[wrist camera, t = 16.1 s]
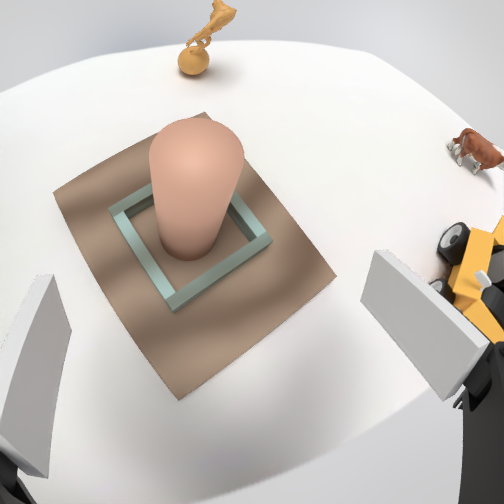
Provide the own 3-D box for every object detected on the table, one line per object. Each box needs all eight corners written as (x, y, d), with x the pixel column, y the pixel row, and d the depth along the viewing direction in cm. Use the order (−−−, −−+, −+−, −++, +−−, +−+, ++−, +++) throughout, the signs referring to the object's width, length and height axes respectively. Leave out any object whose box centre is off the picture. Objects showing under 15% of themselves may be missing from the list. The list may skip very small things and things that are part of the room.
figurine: (196, 52, 36) (209, -18, 25) (233, 67, 36) (254, -5, 25) (160, 83, 33) (164, 3, 22) (201, 100, 33) (215, 17, 22)
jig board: (57, 199, 26) (45, 182, 23) (203, 120, 32) (206, 99, 29) (178, 397, 23) (178, 405, 20) (329, 279, 30) (347, 271, 27)
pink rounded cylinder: (148, 225, 26) (132, 141, 15) (195, 197, 28) (210, 106, 16) (179, 272, 25) (181, 213, 14) (227, 241, 27) (263, 167, 16)
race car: (409, 309, 31) (480, 290, 22) (444, 223, 37) (498, 192, 27) (469, 372, 31) (531, 367, 21) (496, 288, 37) (547, 270, 27)
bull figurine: (490, 191, 43) (520, 172, 36) (443, 156, 42) (475, 131, 34) (486, 173, 45) (514, 154, 37) (441, 138, 43) (470, 113, 36)
